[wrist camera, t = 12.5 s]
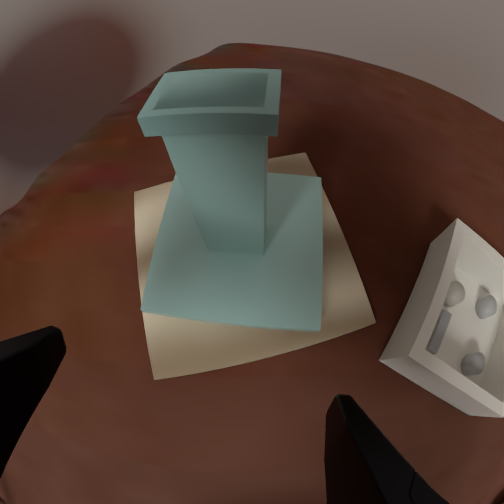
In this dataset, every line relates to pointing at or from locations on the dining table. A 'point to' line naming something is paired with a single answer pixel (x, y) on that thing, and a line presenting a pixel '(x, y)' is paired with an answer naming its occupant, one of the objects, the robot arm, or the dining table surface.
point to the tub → (455, 324)
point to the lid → (232, 208)
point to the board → (239, 337)
